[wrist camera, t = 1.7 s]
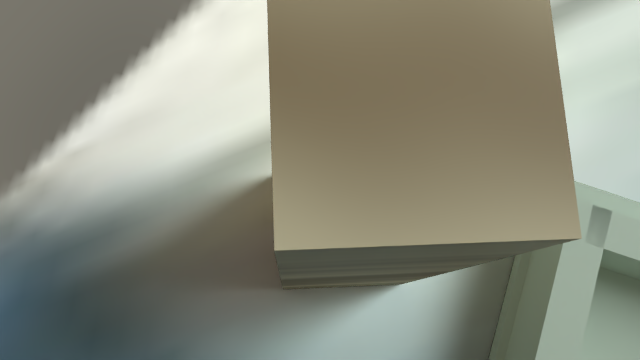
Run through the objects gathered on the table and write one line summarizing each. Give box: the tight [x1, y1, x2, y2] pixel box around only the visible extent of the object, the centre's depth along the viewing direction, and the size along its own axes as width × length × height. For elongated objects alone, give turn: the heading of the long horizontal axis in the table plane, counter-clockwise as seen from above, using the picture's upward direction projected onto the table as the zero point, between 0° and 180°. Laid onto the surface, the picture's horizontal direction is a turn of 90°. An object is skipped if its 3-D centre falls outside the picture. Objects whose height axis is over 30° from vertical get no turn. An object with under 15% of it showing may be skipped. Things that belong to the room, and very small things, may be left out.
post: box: [267, 0, 582, 289], centre depth 15 cm, size 4×4×13 cm
